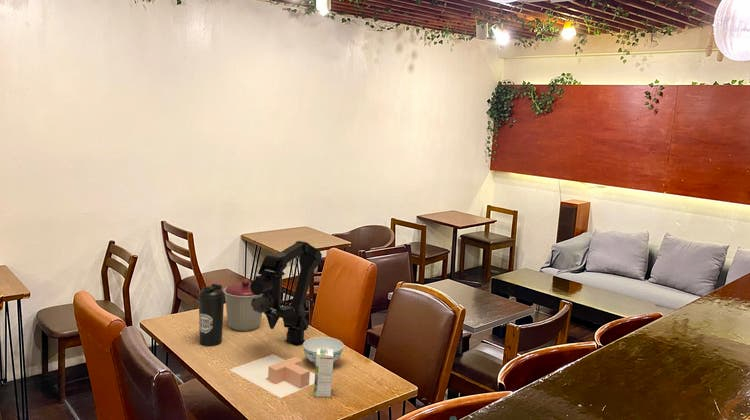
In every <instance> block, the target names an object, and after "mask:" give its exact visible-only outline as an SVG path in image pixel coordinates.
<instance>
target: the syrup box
mask: <svg viewBox="0 0 750 420" xmlns="http://www.w3.org/2000/svg"><path fill="white" fill-rule="evenodd" d="M333 357H334V350H332V349H317V355H316V365H315V366H314V367H315V369H314V374H315V381H314V384H313V385H314V386H313V397H317V398H318V397H319V398H323V397H324V398H325V397H326V398H331V397H332V386H333V372H334V363H333Z"/></svg>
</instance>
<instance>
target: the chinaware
mask: <svg viewBox="0 0 750 420" xmlns="http://www.w3.org/2000/svg"><path fill="white" fill-rule="evenodd" d="M344 346H345V345H344V342H342V340H340V339H337V338H334V337H329V336H317V337H316V336H315V337H311V338H308V339H306V340H305V342H304V343H303V344H302V347H303V351H304V355H305V356H306V359H308V361H310V362H311V363H312V364H314V365H315V366H316V355H317V349H332V350H334V357H333V364H334V363H335V362H336V361H337V360H338V359H339V358H340V356H342V352H343V350H344Z"/></svg>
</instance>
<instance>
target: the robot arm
mask: <svg viewBox="0 0 750 420" xmlns="http://www.w3.org/2000/svg"><path fill="white" fill-rule="evenodd" d="M297 257H299V260H298V263H299V264H300V271H299V275H298V279H297V281H296V285H295V289H294V293H293V296H292V297H293V298H292V301H291V303H289V305H284V302H283V301H282V300H281V299H282V295H284V290H282V278H283V276H285V274H286V273H285V272H284V270H285V269H286V268H287V267H288V264H289V262H292V261H293V260H294V259H296V258H297ZM322 257H323V255H322V252H321V250H320V249H318V248H316V247H315V246H312V245H311V244H310V243H309V242H307V241H303V240H296V241H295V243H294V244H292V245H290V246H289V247H286V248H285V249H283V250H282V251H280V252H274V253H270V254H267V255H266V256H265V257H264V259H263V261H262V262H261V264H260V267H259V270H258V272H257V275H256V276H255V277H254V279H253V280H252V281H251V282H250V283H251V285H250V289H251V291H252V293H253V294H254V295H261V294H262V296H261V297H257V298H253V300H252V301H251V306H253V310H254V311H257V312H258V313H262V314H264V315H265V316H266V321H267V323H268V326H269V329H271V330H274V329H275V327H276V326H277V324H278V321H279V320H280V318H281V319H282V321H283V323H282V324H283V327H284V328H287V332H286V339H284V342H286V343H287V344H290V345H293V346H296V347H297V346H299V345H303V343H304V342H305V341H306V340H305V331H307V329H308V328H309V324H310V322H309V321H308V320H307V319H306V312H307V311H306V310H305V306H304V305H305V301H306V298H307V295H308V292H309V291H308V290H309V286H310V284H311V280H312V276H313V272H314V271H315V269H316V268H317V267H318V266H319V265H320V262H321V259H322ZM282 305H283V306H282Z"/></svg>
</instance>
